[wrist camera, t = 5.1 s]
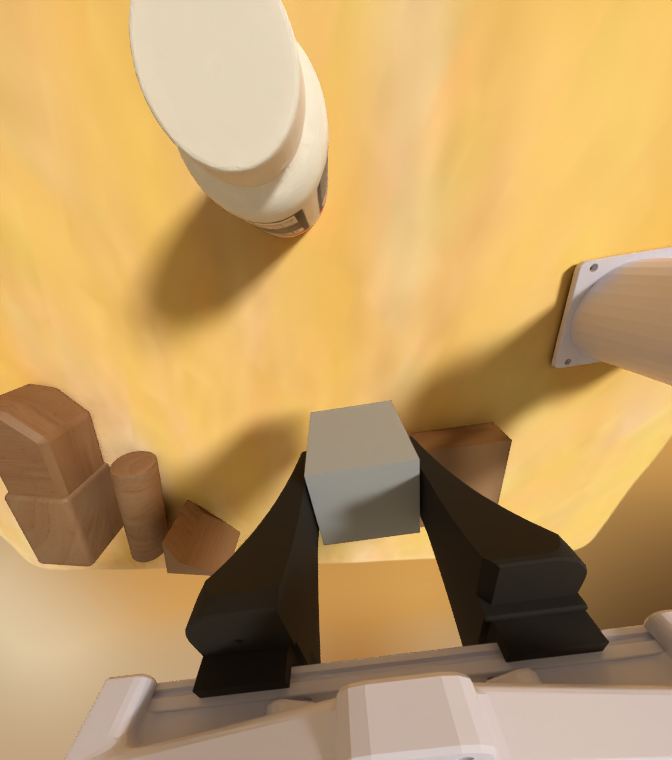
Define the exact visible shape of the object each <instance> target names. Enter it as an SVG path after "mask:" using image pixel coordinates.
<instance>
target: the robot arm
mask: <svg viewBox="0 0 672 760" xmlns="http://www.w3.org/2000/svg"><path fill="white" fill-rule="evenodd" d="M591 266H592V269H591V270H590V268H591ZM565 361H566V362H565ZM597 362H605V363H608V364H611V365H614V366H617V367H620V368H622V369H625V370H628V371H631V372H634V373H637V374H640V375H643V376H645V377H648V378H651V379H654V380H657V381H660V382H663V383H666V384H669V385H671V386H672V247H666V248H660V249H654V250H648V251H642V252H636V253H629V254H623V255H617V256H611V257H605V258H599V259H593V260H587V261H582V262H580V263H579V264H578V265H577V266H576V268H575V270H574V274H573V278H572V282H571V286H570V290H569V294H568V299H567V303H566V307H565V311H564V315H563V319H562V323H561V327H560V331H559V335H558V339H557V343H556V347H555V351H554V355H553V359H552V366H554V367H556V368H564V367H571V366H578V365H584V364H591V363H597ZM408 437H409V439H410V441H411V443H412V445H413V447H414V449H415V451H416V453H417V455H418V457H419V459H420V517H421V519H422V522H423V524H424V526H425V529H426V531H427V534H428V536H429V539H430V542H431V545H432V548H433V551H434V554H435V557H436V560H437V564H438V566H439V570H440V572H441V576H442V579H443V582H444V585H445V589H446V592H447V595H448V598H449V602H450V605H451V608H452V611H453V615H454V618H455V622H456V625H457V628H458V632H459V635H460V639H461V642H462V645H463V647H455V648H447V649H438V650H430V651H421V652H413V653H406V654H396V655H388V656H379V657H371V658H363V659H354V660H346V661H338V662H329V663H321V661H320V635H319V604H318V537H319V526H318V522H317V519H316V515H315V512H314V508H313V505H312V501H311V498H310V494H309V491H308V487H307V484H306V480H305V477H304V473H305V463H306V453H307V451H304V452H302V453H301V456H300V458H299V460H298V462H297V464H296V467H295V469H294V471H293V473H292V475H291V476H290V478H289V480H288V482H287V484H286V486H285V487H284V489H283V491H282V492H281V494H280V496H279V497H278V499H277V500H276V502H275V504H274V505H273V507H272V508H271V509H270V511H269V512H268V514H267V515H266V516H265V518H264V519H263V520H262V522H261V523H260V524H259V525H258V527H257V528H256V529H255V531H254V532H253V533H252V534H251V535H250V537H249V538H248V539H247V540H246V541H245V542H244V543H243V544H242V545H241V547H240V548H239V549H238V550H237V551H236V552H235V553H234V554H233V555H232V556H231V557H230V558H229V559H228V560H227V561H226V562H225V563H224V564H223V565H222V566H221V567H220V568H219V569H218V570H217V571H216V572H215V573H214V574H213V575H212V576H211V577H210V578H209V579H207V580H206V581H205V583H204V586H203V588H202V590H201V592H200V594H199V596H198V598H197V601H196V604H195V606H194V608H193V611H192V614H191V616H190V619H189V622H188V624H187V627H186V629H185V630H186V637H187V639H188V640H189V642H190V643H191V644H192V645H193V646H194V647H195V648H196V649H197V650H198V651H199V652H200V653H201V654H202V655H203V659H202V662H201V665H200V668H199V671H198V675H197V678H196V679H187V680H179V681H171V682H162V683H157V682H156V680H155V679H154V678H153V677H151V676H149V675H145V674H134V675H126V676H118V677H110V678H109V679H108V680H106V682H105V683H104V685H103V687H102V689H101V691H100V693H99V695H98V697H97V699H96V700H95V702H94V705H93V706H92V708H91V710H90V712H89V714H88V716H87V717H86V719H85V721H84V723H83V725H82V727H81V729H80V731H79V733H78V734H77V736H76V738H75V740H74V742H73V744H72V746H71V748H70V750H69V751H68V753H67V755H66V757H65V759H64V760H672V610H663V611H659V612H655V613H653V614H651V615H650V616H649V617H647V618H646V620H645V622H644V625H639V626H630V627H623V628H614V629H605V630H600V629H599V628H598V627H597V625H596V624H595V623H594V621H593V620H592V619H591V617H590V616H589V615H588V613H587V612H586V611H585V610H587V608H588V607H587V605H586V603H585V602H584V601H583V599H582V598H581V596H580V595H579V594H578V591H579V589H580V587H581V586H582V584H583V582H584V580H585V577H586V574H587V569H586V565H585V564H584V563H583V562H582V560H581V559H580V558H579V557H578V556H577V555H576V554H575V552H574V551H573V550H572V549H571V548H570V547H569V545H568V544H567V543H566V542H565V541H564V540H563V539H562V538H561V537H560V536H559V535H558V534H556V533H554V532H551V531H549V530H547V529H545V528H543V527H541V526H538V525H536V524H534V523H532V522H530V521H528V520H526V519H524V518H522V517H520V516H518V515H516V514H514V513H512V512H510V511H508V510H507V509H505V508H503V507H501V506H500V505H498V504H496V503H495V502H493V501H491V500H490V499H488V498H486V497H485V496H483V495H481V494H480V493H478V492H477V491H475V490H474V489H472V488H471V487H470V486H468V485H467V484H465V483H464V482H463V481H461V480H460V479H459V478H457V477H456V476H455V475H453V474H452V473H451V472H450V471H448V470H447V469H446V468H445V467H444V466H443V465H441V464H440V463H439V462H438V461H437V460H436V459H435V458H434V457H432V456H431V455H430V454H429V453H428V452H427V451H426V450H425V449H424V448H423V447H422V446H421V445H420V444H419V443H418V442H417V441H416V440H415V439H414V438H413V437H412V436H408Z"/></svg>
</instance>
